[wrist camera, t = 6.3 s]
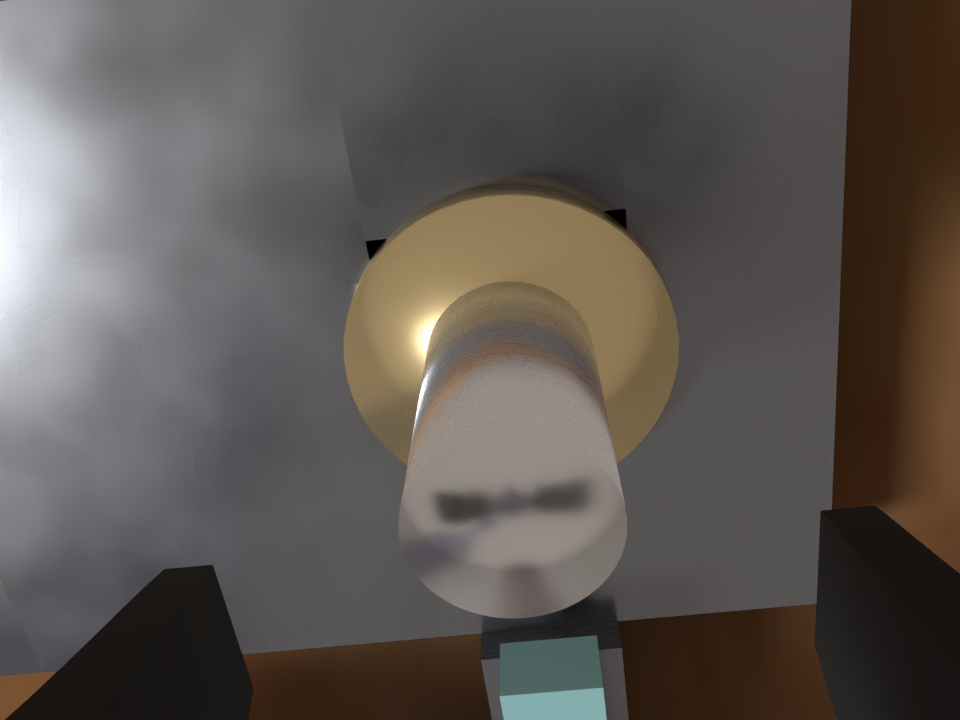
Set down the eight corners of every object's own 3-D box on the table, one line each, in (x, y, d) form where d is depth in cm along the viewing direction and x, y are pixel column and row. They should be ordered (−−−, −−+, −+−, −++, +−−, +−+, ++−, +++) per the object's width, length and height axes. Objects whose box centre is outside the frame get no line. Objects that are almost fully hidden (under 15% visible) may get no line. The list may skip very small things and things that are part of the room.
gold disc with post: (661, 403, 20) (746, 679, 13) (394, 432, 21) (335, 713, 14) (646, 132, 18) (741, 293, 10) (339, 172, 18) (232, 353, 11)
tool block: (792, 737, 25) (830, 849, 22) (-104, 806, 27) (-178, 916, 24) (806, -126, 16) (875, -132, 13) (-555, 82, 18) (-762, 119, 15)
